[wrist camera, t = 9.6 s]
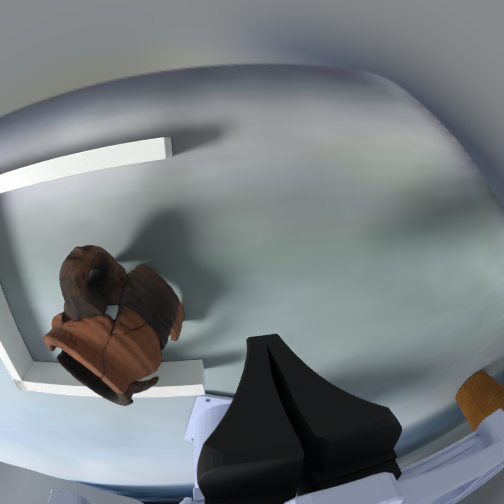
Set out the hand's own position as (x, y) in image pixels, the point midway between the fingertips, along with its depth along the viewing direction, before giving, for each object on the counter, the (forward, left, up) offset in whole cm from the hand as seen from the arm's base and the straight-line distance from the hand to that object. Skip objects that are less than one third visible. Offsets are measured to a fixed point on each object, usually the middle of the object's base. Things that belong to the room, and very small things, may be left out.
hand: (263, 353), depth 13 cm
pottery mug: (+8, +5, -10) cm, 14 cm away
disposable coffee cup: (-40, +11, -10) cm, 42 cm away
